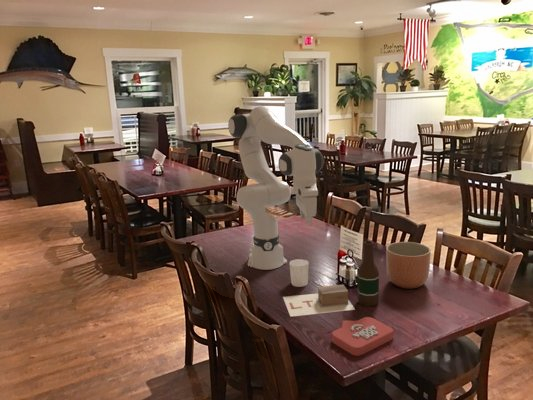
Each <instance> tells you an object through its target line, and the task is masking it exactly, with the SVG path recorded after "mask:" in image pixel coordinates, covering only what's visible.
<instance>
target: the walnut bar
mask: <svg viewBox="0 0 533 400" xmlns="http://www.w3.org/2000/svg"><path fill="white" fill-rule="evenodd" d="M317 292H318V300H319V301H320V303H321V305H322V306H330V305H339V304H348V300H349V290H348V289H347V287H346V286H345V284H337V285H334V284H333V285H326V286H318V287H317Z"/></svg>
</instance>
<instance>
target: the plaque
mask: <svg viewBox="0 0 533 400" xmlns="http://www.w3.org/2000/svg"><path fill="white" fill-rule="evenodd" d="M331 336H332V337H331V341H332V343H333V344H334V345H336V346H337V347H339V348H341V349H342V350H344V351H345V352H347V353H348V354H350V355H353V356H357V357H360V356H362V355H365V354H366V353H368V352H371V351H372V350H374V349H377V348H378V347H380V346H382V345H384V344H386V343H388V342H391V341H392V340H394V328H392V327H391V326H389V325H387V324H385V323H383V322H381V321H379V320H378V319H375V318H373V317H370V316H364V317H362V318H360V319H357V320H342V325H341V327H340V328H338V329H336V330H334V331H332V332H331Z"/></svg>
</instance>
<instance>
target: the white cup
mask: <svg viewBox="0 0 533 400" xmlns="http://www.w3.org/2000/svg"><path fill="white" fill-rule="evenodd" d="M309 263H310V262H309V261H308V260H306V259H304V258H303V259H302V258H300V259H298V258H296V259H293V260H290V261H289V272H290V273H289V274H290V281H291V285H292V286H293V287H297V288H298V287H299V288H300V287H305V286H308V283H309Z"/></svg>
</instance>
